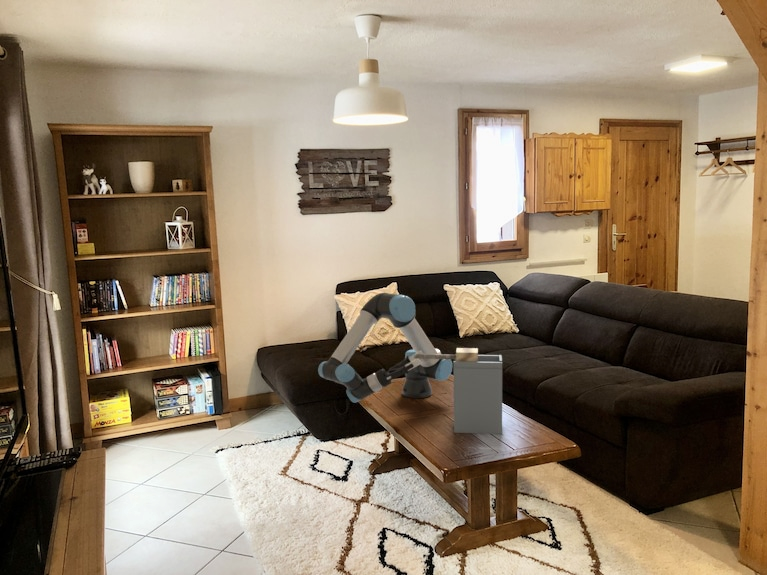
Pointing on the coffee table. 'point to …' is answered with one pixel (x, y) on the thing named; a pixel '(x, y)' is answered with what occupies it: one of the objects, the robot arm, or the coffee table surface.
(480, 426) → the shelf
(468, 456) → the coffee table surface
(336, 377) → the robot arm
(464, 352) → the maple block
